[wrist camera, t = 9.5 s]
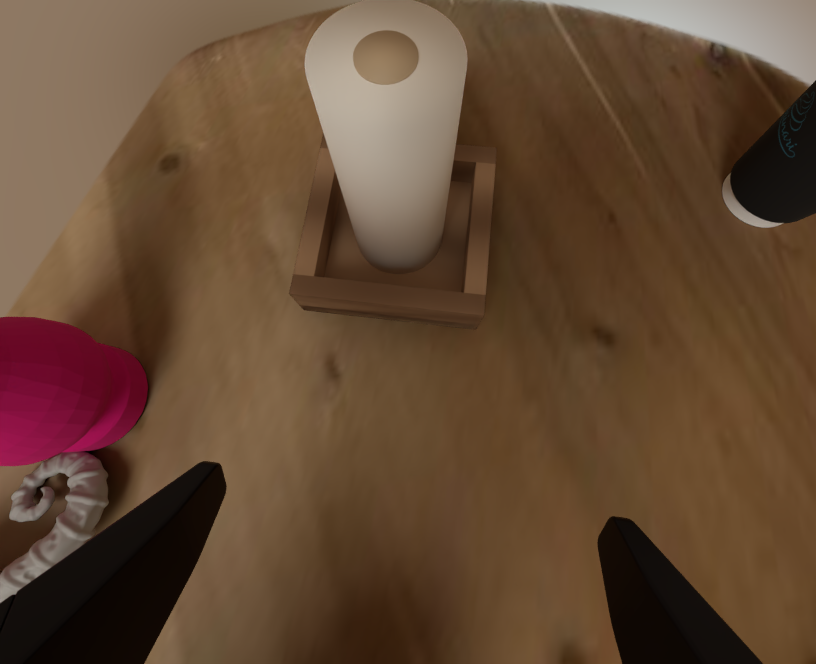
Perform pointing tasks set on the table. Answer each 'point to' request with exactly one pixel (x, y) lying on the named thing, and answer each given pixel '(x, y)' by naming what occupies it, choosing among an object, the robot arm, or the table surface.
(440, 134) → the paper roll
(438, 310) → the tray
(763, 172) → the dixie cup
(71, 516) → the seahorse
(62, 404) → the pepper mill
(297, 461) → the table surface
